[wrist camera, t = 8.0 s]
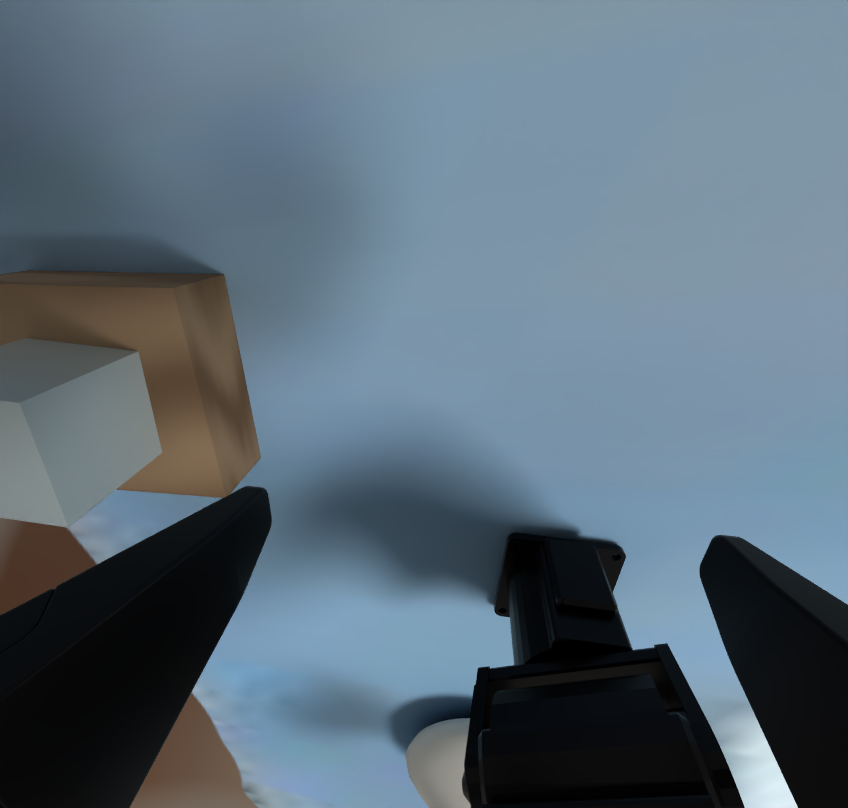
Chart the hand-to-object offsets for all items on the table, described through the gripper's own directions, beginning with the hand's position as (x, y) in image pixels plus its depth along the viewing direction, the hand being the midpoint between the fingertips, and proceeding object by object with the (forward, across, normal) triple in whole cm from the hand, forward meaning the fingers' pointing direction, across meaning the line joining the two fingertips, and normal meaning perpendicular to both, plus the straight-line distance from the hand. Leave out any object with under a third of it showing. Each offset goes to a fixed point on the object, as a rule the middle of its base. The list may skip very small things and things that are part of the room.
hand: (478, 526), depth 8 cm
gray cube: (+8, +17, +2) cm, 19 cm away
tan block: (+12, +17, +3) cm, 21 cm away
